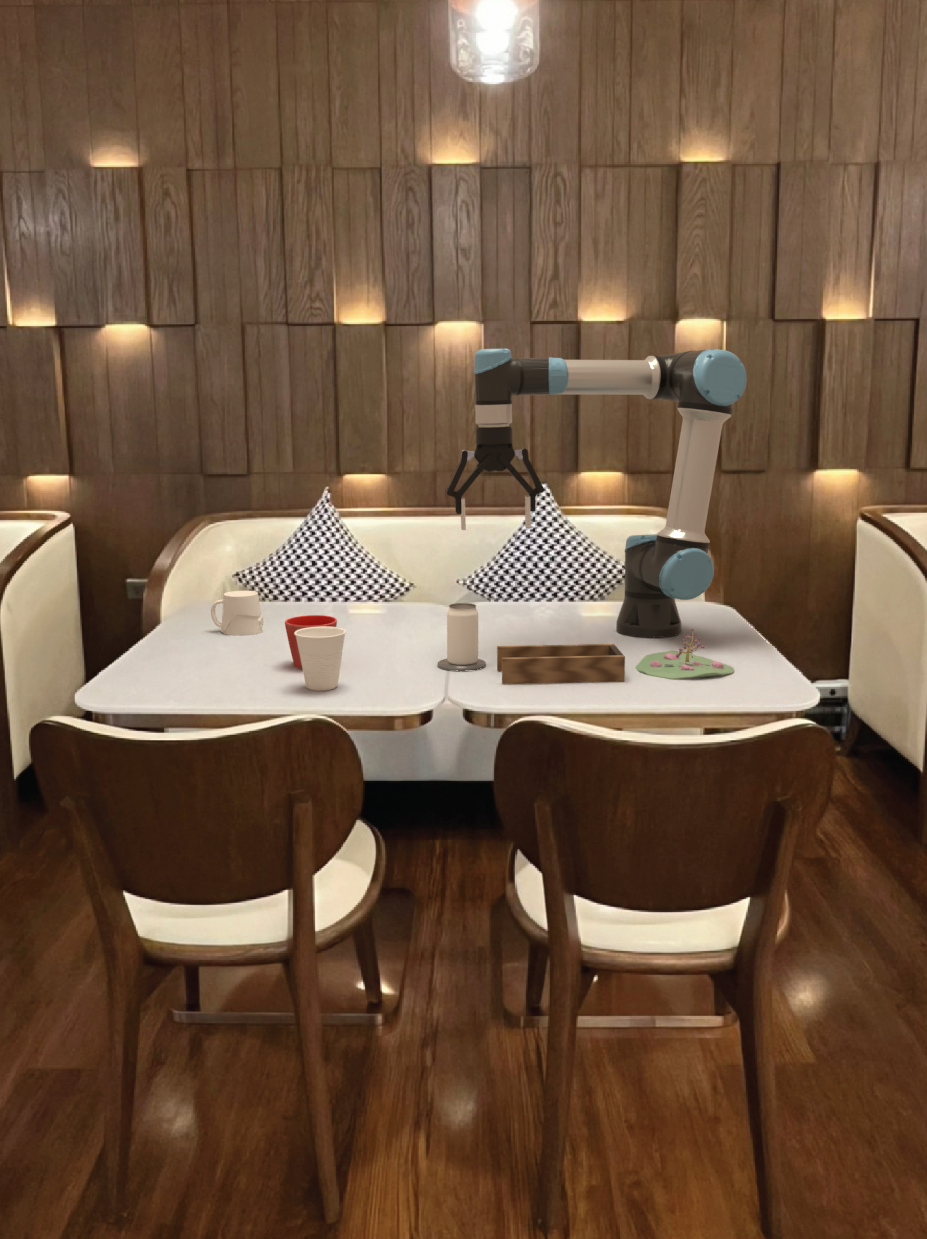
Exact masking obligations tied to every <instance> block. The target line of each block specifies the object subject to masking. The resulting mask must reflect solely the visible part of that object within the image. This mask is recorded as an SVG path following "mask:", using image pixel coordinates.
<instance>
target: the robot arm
mask: <svg viewBox="0 0 927 1239" xmlns="http://www.w3.org/2000/svg"><path fill="white" fill-rule="evenodd" d="M473 368H474V369H473V370H474V371H473V375H474V393H475V394H474V395H475V396H474V397H475V401H474V402H475V405H474V407H475V409H474V410H475V424H476V425H478V426H476V428H475V450H474V451H473V450H471V451H470V450H466V449H462V450H461V452H460V461H459V463H458V465H457V467H456V469H455V472H454V474H453V476H452V478H451V480H450V482H449V484H448V486H447V489H446V491H445V492H446V495H447V496H450V497H452V498H454V504H455V506H454V507H455V513H456V514H457V515H460V529H461V531H467V530H466V526H467V525H466V524H467V523H466V522H467V521H466V498H465V497H463V496H464V495H465V493H466V492H467V491H468V489H469V488H470V487H471V485H472V484H473V483H474V482H475V480H476V479H477V478H478V477H479V475H480V474H481V473H482V472H483V471H485V472H490V473H491V472H495V471H497V472H503V471H505V470H506V471H508V472H509V473H510V475H512V476H513V477H514V479H515V480H516V481H517V482H518V484H520V486H522V488H523V489H524V490H525V492H526V493H528V495H524V513H525V514H524V516H525V520H524V522H525V528H526V529H531V527H532V526H531V523H532V522H531V520H532V519H531V518H532V517H531V512H535V511H536V508H537V507H536V496H537V495H539V494H541V493H544V492H545V488H544V485H543V484H542V483H541V481H540V479H539V476H538V475H537V472H536V471H535V468H534V466H533V464H532V462H531V461H530V459H529V452H528V449H527V448H525V447H522V448H521V449H514V448H513V447H514V446H513V427H512V426H511V424H512V423H513V408H512V407H513V406H512V404H513V400H512V399H513V396H516V397H517V396H547V395H549V396H552V395H584V396H585V395H590V396H591V395H592V396H593V395H596V396H597V395H612V396H613V395H616V396H618V395H621V396H622V395H623V396H626V395H629V396H630V395H633V396H634V395H635V396H636V395H639V396H640V395H643V396H644V398H646V399H647V400H662V401H670V402H675V403H677V404H678V405H677V411H678V412H679V414H680V415H681V416H682V422H681V429H680V434H679V442H678V448H677V454H676V459H675V465H674V466H675V467H674V471H673V472H674V473H673V477H672V484H671V491H670V498H669V503H668V509H667V515H666V520H665V522H666V523H665V526H664V527H663V528H662V529H661V530H660V531H658V532H657V533H655V534H636V535H635V534H634V535H630V536H628V537H627V539H626V540H625V549H624V599H623V602H622V604H621V607H620V610H619V612H618V616H617V619H616V625H615V626H616V629H615V630H616V632H618V633H619V634H621V635H625V636H631V637H639V638H665V637H666V638H668V637H673V636H677V635H680V634H681V633H682V620H681V617H680V614H679V610H678V606H677V603H676V601H675V600H682V601H687V600H693V599H695V598H699V596H701V595H702V594H704V593H705V592H706V591H707V590H708V588H709V587H710V586H711V584H712V581H713V579H714V576H715V565H714V561H712V559H711V556H710V555H709V551H710V550H709V549H710V544H711V543H710V542H711V541H710V538H708V536H707V535H706V532H705V531H706V524H707V519H708V512H709V506H710V500H711V495H712V490H713V484H714V478H715V471H716V466H717V458H718V454H719V447H720V441H721V437H722V436H721V435H722V429H723V425H724V423H725V422H726V421H727V420H728V419H730V418H731V417H732V413H733V407H734V404H735V403H736V402H737V401H738V400H740V398H742V396H743V394H744V393H745V390H746V387H747V384H748V383H747V381H748V377H747V370H746V367H745V365H744V363H743V362H742V361H741V359H740V358H739V357H738V356H737V355H736V354H735V353H733V352H731V351H729V350H724V349H719V348H716V349H715V348H708V349H702V350H701V349H699V350H687V351H682V352H677V353H671V354H665V355H664V354H663V355H648V356H647V357H646V358H644V359H641V360H640V359H633V360H632V359H563V358H561V357H551V356H549V357H530V358H529V357H527V358H524V357H523V358H519V357H518V358H515V357H513V356H512V352H511V349H510V348H482V349H481V348H480V349H478V350H477V351H476V352H475V354H474V366H473ZM515 456H517V458H518V459H519V460H521V461H522V463H523V464H522V465H524V468H525V470H526V471H527V474H528V475H529V478H530V480H531V481H532V482H533V485H534V488H532V487H531V485H530V484H529V482H527V480H525V478H524V477H523V476H522V475H521V473H520V472H519V471H518V470H517V469H516V468H515V467H514V466H513V464H512V463H511V462H512V461H513V459H514V458H515ZM473 457H474V458H475V460H476V461H477V462H478V463H477V464H476V466H475V468H473V470H472V471H471V473H470V474H469V475H468V477H467V478H466V479H465V480H464V482H463V483H462V484H461V486H460V487H459V488H458V489H457V490H455V489H456V487H457V485H458V484H459V481H460V478H461V477H462V475H463V472H464V470H465V468H466V466H467V463H468V462H470V461H471V460H472V458H473Z"/></svg>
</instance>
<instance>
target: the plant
mask: <svg viewBox="0 0 927 1239" xmlns="http://www.w3.org/2000/svg"><path fill="white" fill-rule="evenodd" d="M689 631H690V632H692V633H691V635H692V636H690V635H689V634H687V635H686V636H685V637H684V638H683V642H682V641H680V642H679V643H680V644H682V643H683V648H682V647H679V648H678V650H668V651H661V652H654V653H648V654H647V655H645V656H644V657H643V658H642V659H641V660H640V661H639V663H637V665H635V670H636V671H637V672H639V673H641V674H643V675H645V676H649V677H655V678H660V679H666V680H667V679H668V680H681V679H692V678H694V679H695V678H706V677H717V676H727V675H732V674H734V673H735V668H734V667H732V666H731V665H728V664H725V663H722V662H720V661H716V660H713V659H710V658H706V657H703V656H701V655H697V654H693V652H694V651H695V652H696V651H697V649H698V648H700V649H706V646H705V645H701V642H700V641H699V640H700V639H701V637H694V633H693V631H695V629H694V628H690V630H689ZM689 638H691V641H690V642H688V641H689ZM685 639H687V641H685ZM693 643H694V644H695V645H692V644H693ZM691 647H692V648H691ZM685 650H686V651H685Z"/></svg>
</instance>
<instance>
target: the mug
mask: <svg viewBox="0 0 927 1239" xmlns="http://www.w3.org/2000/svg"><path fill="white" fill-rule="evenodd" d="M219 604H222V615H221V621H219V620H218V618H217V615H216V607H217V605H219ZM261 611H262V610H261V603H260V598H259V593H258V591H254V590H233V591H227V592H224V593H223V599H222V598H221V599H217V600H216V601H214V602H213V603H212V605H211V607H210V616H211V619H212V621H213V623H214V625H216V627H218V628H220V630H221V632H222V634H224V635H226V636H240V637H241V636H254V635H259V634H262V633H264V631H263V626H264V617H263V616H261V615H262V612H261Z"/></svg>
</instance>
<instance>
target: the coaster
mask: <svg viewBox="0 0 927 1239" xmlns="http://www.w3.org/2000/svg"><path fill="white" fill-rule="evenodd" d="M486 665H487V664H486V661H485V660H483V659H481V658H478V661H477V662H476V663H475V664H473V665H464V666H461V665H453V664H450V663H449V662H448V661H447V658H444V659H441V660H439V661H437V668H438V669H440V670H442V671H443V670H444V671H449V672H451V671H450V670H458V671H457V672H460V671H462V672H466V671H465V670H475V671H478V670H477V669H480V668H482V669H484V668H486ZM480 670H481V669H480Z"/></svg>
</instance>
